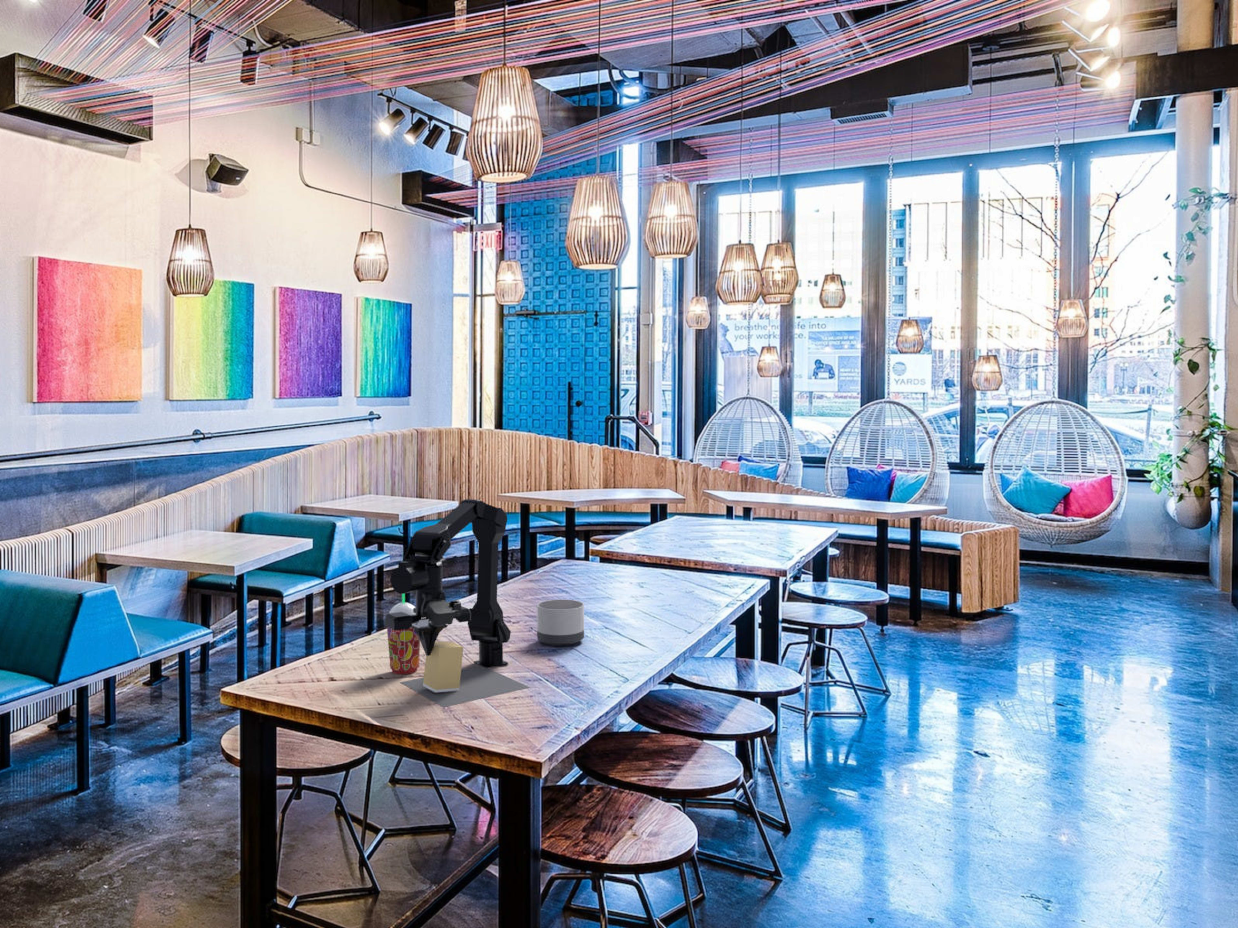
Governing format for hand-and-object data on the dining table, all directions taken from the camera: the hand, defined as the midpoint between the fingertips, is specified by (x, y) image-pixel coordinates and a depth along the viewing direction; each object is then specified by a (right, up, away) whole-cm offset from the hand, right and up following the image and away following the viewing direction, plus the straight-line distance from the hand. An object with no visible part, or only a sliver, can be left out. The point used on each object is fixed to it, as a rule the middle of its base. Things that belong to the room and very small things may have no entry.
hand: (428, 655), depth 209 cm
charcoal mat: (+7, -9, +6) cm, 13 cm away
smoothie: (-9, -8, +17) cm, 21 cm away
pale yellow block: (+2, -8, +2) cm, 9 cm away
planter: (+27, -6, +46) cm, 53 cm away
